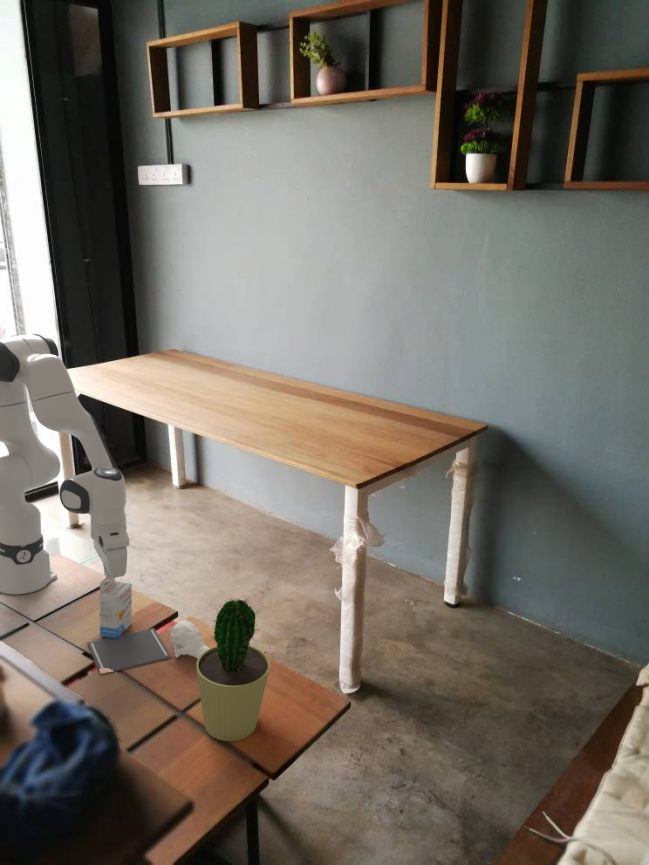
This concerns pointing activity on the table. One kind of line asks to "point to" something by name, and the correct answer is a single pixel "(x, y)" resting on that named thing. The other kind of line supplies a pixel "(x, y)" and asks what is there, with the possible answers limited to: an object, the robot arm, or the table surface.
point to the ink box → (115, 607)
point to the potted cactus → (232, 675)
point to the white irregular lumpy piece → (187, 640)
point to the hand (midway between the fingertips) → (109, 577)
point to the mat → (128, 650)
